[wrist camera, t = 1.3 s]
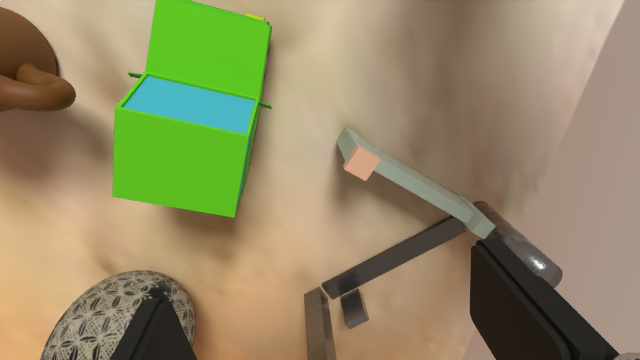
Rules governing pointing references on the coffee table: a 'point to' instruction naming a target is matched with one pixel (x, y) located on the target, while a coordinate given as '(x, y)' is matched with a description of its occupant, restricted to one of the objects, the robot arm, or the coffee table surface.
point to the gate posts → (353, 302)
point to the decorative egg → (113, 315)
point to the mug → (29, 68)
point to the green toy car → (192, 109)
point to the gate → (408, 181)
